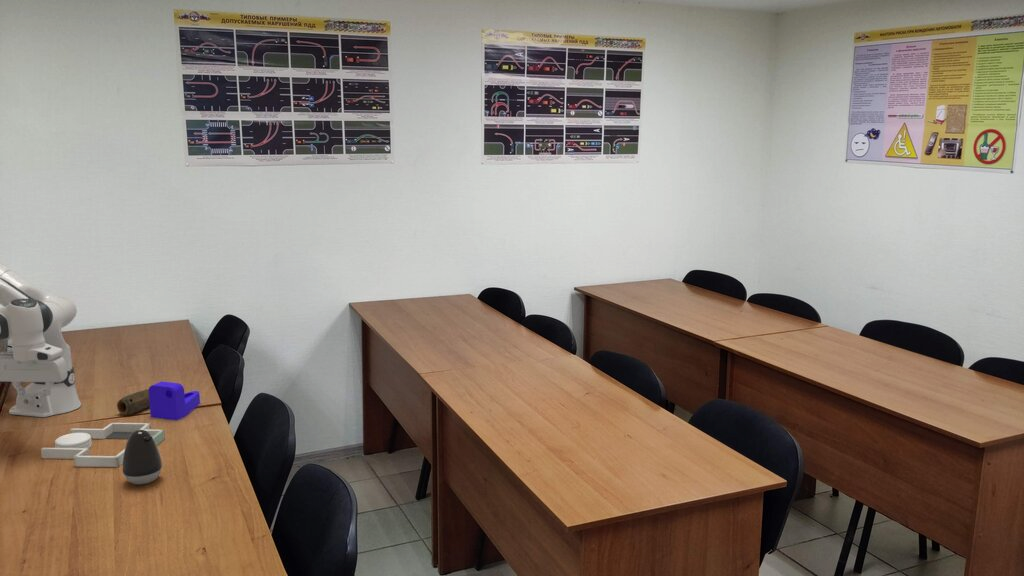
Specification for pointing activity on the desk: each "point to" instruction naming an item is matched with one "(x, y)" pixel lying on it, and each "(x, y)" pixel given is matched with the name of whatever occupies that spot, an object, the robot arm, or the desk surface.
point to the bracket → (171, 401)
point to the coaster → (74, 441)
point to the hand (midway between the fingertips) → (34, 394)
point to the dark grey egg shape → (141, 458)
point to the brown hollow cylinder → (134, 402)
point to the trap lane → (108, 432)
